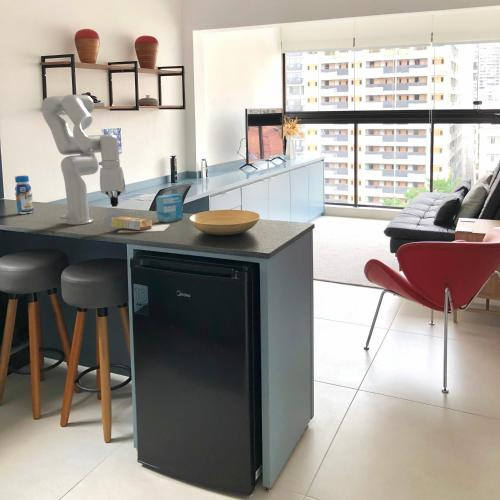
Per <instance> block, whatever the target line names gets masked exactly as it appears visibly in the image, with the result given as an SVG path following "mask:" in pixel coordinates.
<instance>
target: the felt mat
mask: <svg viewBox="0 0 500 500" xmlns="http://www.w3.org/2000/svg"><path fill="white" fill-rule="evenodd" d="M170 226H171V223H170V224H169V223H167V224H152V228H151V229H144V230H134V229H126V228H120V230H118V231H117V233H149V232H165V230H167V228H168V227H170Z"/></svg>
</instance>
